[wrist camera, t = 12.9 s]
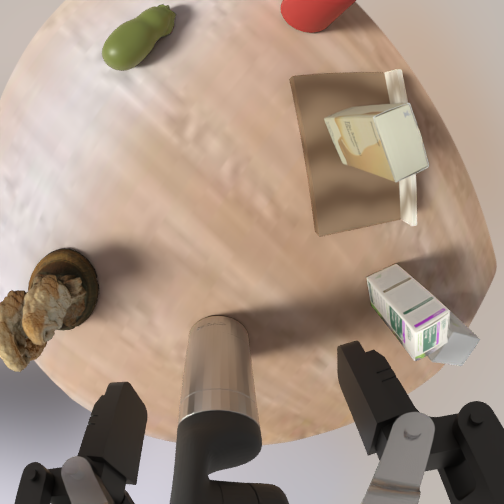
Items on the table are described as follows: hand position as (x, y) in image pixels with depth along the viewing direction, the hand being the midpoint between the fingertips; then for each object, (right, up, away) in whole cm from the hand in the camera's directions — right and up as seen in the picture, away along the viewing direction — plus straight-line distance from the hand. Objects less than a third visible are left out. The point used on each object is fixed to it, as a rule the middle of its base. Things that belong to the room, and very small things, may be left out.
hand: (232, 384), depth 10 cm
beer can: (+7, +35, +17) cm, 40 cm away
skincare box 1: (+12, +19, +22) cm, 31 cm away
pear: (-13, +31, +17) cm, 37 cm away
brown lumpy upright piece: (-29, -2, +29) cm, 41 cm away
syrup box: (+21, 0, +33) cm, 39 cm away
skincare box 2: (+34, -8, +37) cm, 51 cm away
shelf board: (+13, +18, +24) cm, 33 cm away
